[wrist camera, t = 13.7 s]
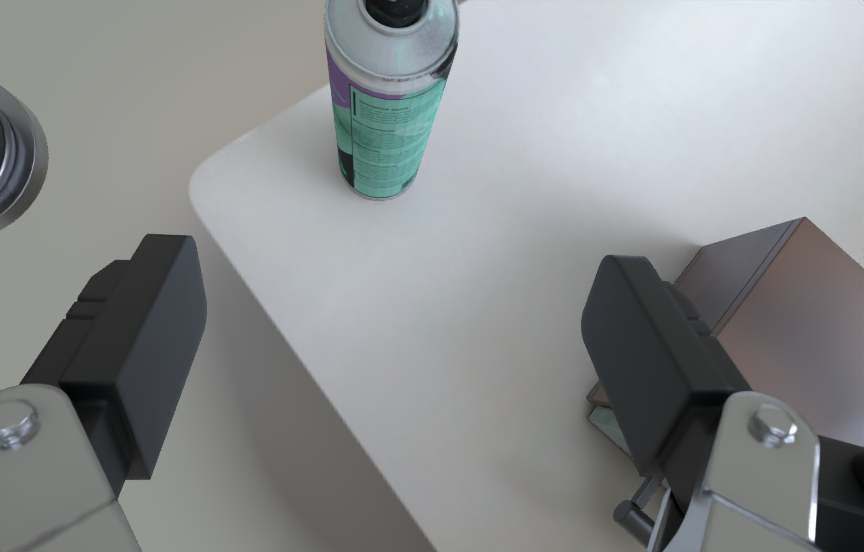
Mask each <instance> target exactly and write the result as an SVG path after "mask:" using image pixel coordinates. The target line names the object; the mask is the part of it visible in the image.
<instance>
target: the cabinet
mask: <svg viewBox="0 0 864 552" xmlns="http://www.w3.org/2000/svg"><path fill="white" fill-rule="evenodd" d="M673 286H674V287H676V288H677V289H678V290H679V291H681V292H682V293H683V294H684V295H686V296H687V297H688V298H689V299H690V300H691V302H692V303H693V304H694V306H695V307H696V309H697V310H698V312H699V313H700V315H701V316H702V321H705V322H706V323H707V325H708V326H709V328H710V329H711V330H712V332H713V337H716V338H717V339H718V341H719V342H720V343H721V345H722V346H723V348H724V349H725V351H726V352H727V353H728V355H729V356H730V358H731V359H732V361H733V362H734V364H735V365H736V366H737V368H738V369H739V371H740V372H741V374H742V375H743V377H744V378H745V379H746V381H747V382H748V384H749V385H750V387H751V388H752V389H753V391H754V392H759V393H763V394H766V395H769V396H772V397H774V398H776V399H778V400H780V401H782V402H784V403H786V404H787V405H789V406H791V407H792V408H793V409H795V410H796V411H797V412H799V413H800V414H801V415H802V416H803V417H804V418H805V419H806V420H807V421H808V422H809V423H810V425H811V426H812V428H813V429H814V430H815V432H816V434H817V435H821V436H825V437H828V438H832V439H836V440H840V441H843V442H847V443H851V444H854V445H858V446H862V447H864V269H863V268H862V267H861V266H860V265H859V264H858V263H857V262H856V261H854V260H853V259H852V258H851V257H850V256H849V255H848V254H847V253H846V252H844V251H843V250H842V249H841V248H840V247H839V246H838V245H837V244H836V243H834V242H833V241H832V240H831V239H830V238H829V237H828V236H827V235H826V234H824V233H823V232H822V231H821V230H820V229H819V228H818V227H817V226H816V225H814V224H813V223H812V222H811V221H810V220H809V219H808V218H807V217H801V218H798V219H795V220H791V221H787V222H784V223H781V224H777V225H774V226H770V227H767V228H764V229H760V230H757V231H753V232H750V233H747V234H743V235H740V236H737V237H733V238H730V239H726V240H723V241H720V242H716V243H713V244H709V245H706V246H703V247H702V249H701V250H700V251H699V252H698V254H697V255H696V256H695V258H694V259H693V260H692V261H691V263H690V264H689V265H688V267H687V268H686V269H685V271H684V272H683V273H682V274H681V276H680V277H679V278H678V280H677V281H676V282H675V283H674V285H673ZM586 398H587V399H588V400H589V401H590V402H592V403H593V404H594V405H595V406H596V407H597V406H598V405H599V406H603V407H607V408H611V405H610V403H609V401H608V398H607V396H606V394H605V391H604V389H603V386H602V384H601V382H600V380H599V382H598V383H597V384H596V386H595V387H594V388H593V389H592V391H591V392H590V393H589V395H588V396H587V397H586ZM611 409H612V408H611Z"/></svg>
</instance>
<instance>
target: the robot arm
mask: <svg viewBox="0 0 864 552" xmlns="http://www.w3.org/2000/svg"><path fill="white" fill-rule="evenodd" d="M14 160H15V139H14V134H13V131H12V128H11V126H10V124H9V122H8V120H7V119H6V117H5V116H4V114H3V113H2V112H1V111H0V189H1V188H2V187H3V185H4V184H5V182H6V181H7V179H8V177H9V175H10V173H11V170H12V168H13V164H14ZM206 316H207V302H206V296H205V290H204V285H203V279H202V274H201V268H200V263H199V259H198V252H197V247H196V243H195V240H194V239H193V237H192V236H186V235H163V234H147V235H146V236H145V237H144V238H143V240H142V241H141V243H140V245H139V247H138V248H137V250H136V251H135V253H134V255H133V256H132V258H131V260H115V261H113V262H112V263H110V264H109V265H107V266H106V267H105V268H103V269H102V270H100V271H99V272H98V273H96V274H95V275H94V276H92V277H91V278H90V280H89V281H88V283H87V284H86V286H85V287H84V289H83V290H82V292H81V293H80V295H79V296H78V301H77V302H74V304H73V305H72V307H71V308H70V309H69V311H68V313H67V314H66V319H63V320H62V321H61V323H60V324H59V326H58V327H57V329H56V330H55V332H54V333H53V335H52V336H51V338H50V339H49V341H48V342H47V344H46V345H45V347H44V348H43V350H42V351H41V353H40V354H39V356H38V357H37V359H36V360H35V362H34V363H33V365H32V366H31V368H30V369H29V371H28V372H27V373H26V375H25V376H24V378H23V379H22V381H21V382H20V384H19V385H18V386H13V387H9V388H6V389H3V390H0V552H142V550H141V548H140V546H139V544H138V542H137V540H136V537H135V535H134V533H133V531H132V529H131V527H130V525H129V523H128V520H127V518H126V516H125V514H124V512H123V510H122V508H121V506H120V504H119V502H118V497H119V494H120V492H121V489H122V487H123V484H124V482H125V480H150V479H151V476H152V473H153V470H154V468H155V465H156V462H157V459H158V456H159V453H160V451H161V448H162V445H163V443H164V440H165V437H166V434H167V432H168V429H169V426H170V423H171V421H172V418H173V415H174V412H175V410H176V406H177V404H178V401H179V399H180V396H181V393H182V390H183V387H184V385H185V382H186V379H187V376H188V374H189V371H190V368H191V365H192V363H193V360H194V357H195V354H196V352H197V349H198V346H199V343H200V341H201V337H202V335H203V332H204V329H205V324H206ZM581 331H582V337H583V341H584V343H585V346H586V348H587V350H588V353H589V355H590V358H591V360H592V362H593V365H594V367H595V370H596V372H597V374H598V377H599V379H600V382H601V384H602V386H603V389H604V391H605V394H606V396H607V398H608V401H609V403H610V405H611V408H612V410H613V413H614V415H615V417H616V420H617V422H618V425H619V427H620V429H621V432H622V434H623V437H624V439H625V441H626V444H627V446H628V448H629V451H630V453H631V456H632V458H633V460H634V463H635V465H636V468H637V470H638V472H639V475H640V477H657V476H665V477H666V480H667V482H668V484H669V486H670V487H669V489H668V490H667V492H666V493H665V495H664V498H663V500H662V503H661V507H660V510H659V513H658V516H657V519H656V522H655V525H654V528H653V531H652V534H651V538H650V541H649V544H648V547H647V550H646V552H864V447H862V446H858V445H854V444H851V443H847V442H843V441H840V440H836V439H832V438H828V437H825V436H821V435H817V434H816V432H815V430H814V429H813V428H812V426H811V425H810V423H809V422H808V421H807V420H806V419H805V418H804V417H803V416H802V415H801V414H800V413H799V412H797V411H796V410H795V409H793V408H792V407H791V406H789V405H787V404H786V403H784V402H782V401H780V400H778V399H776V398H774V397H772V396H769V395H766V394H763V393H759V392H754V391H753V389H752V388H751V387H750V385H749V384H748V382H747V381H746V379H745V378H744V377H743V375H742V374H741V372H740V371H739V369H738V368H737V366H736V365H735V364H734V362H733V361H732V359H731V358H730V356H729V355H728V353H727V352H726V351H725V349H724V348H723V346H722V345H721V343H720V342H719V341H718V339H717V338H716V337H713V332H712V330H711V329H710V328H709V326H708V325H707V323H706V322H705V321H702V316H701V315H700V313H699V312H698V310H697V309H696V307H695V306H694V304H693V303H692V302H691V300H690V299H689V298H688V297H687V296H686V295H684V294H683V293H682V292H681V291H679V290H678V289H677V288H676V287H674V286H673V285H672V284H671V283H669V282H667V281H662V280H661V278H660V277H659V275H658V274H657V272H656V270H655V269H654V267H653V266H652V264H651V263H650V261H649V260H648V259H647V258H646V257H644V256H624V255H606V256H605V257H604V258H603V259H602V261H601V263H600V266H599V268H598V271H597V274H596V277H595V280H594V282H593V285H592V288H591V291H590V293H589V296H588V299H587V302H586V305H585V307H584V310H583V314H582V320H581Z"/></svg>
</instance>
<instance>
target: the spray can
mask: <svg viewBox="0 0 864 552" xmlns="http://www.w3.org/2000/svg"><path fill="white" fill-rule="evenodd" d="M459 28H460V11H459V7H458V3H457V0H326V4H325V15H324V35H325V44H326V53H327V60H328V70H329V78H330V87H331V96H332V104H333V113H334V121H335V130H336V139H337V147H338V156H339V164H340V169H341V173H342V175H343V178H344V180H345V182H346V183H347V184H348V186H349V187H350V188H351V189H352V190H353V191H354V192H355V193H357V194H359V195H360V196H362V197H364V198H367V199H371V200H376V201H384V200H389V199H393V198H395V197H397V196H399V195H401V194H402V193H404V192H405V191H406V190H407V189H408V188H409V187H410V185H411V184H412V182H413V180H414V179H415V176H416V174H417V171H418V168H419V165H420V161H421V158H422V155H423V152H424V149H425V146H426V143H427V140H428V137H429V134H430V131H431V127H432V124H433V121H434V118H435V115H436V112H437V109H438V106H439V103H440V100H441V97H442V93H443V90H444V87H445V84H446V81H447V78H448V75H449V72H450V69H451V66H452V63H453V59H454V56H455V53H456V50H457V47H458V41H459Z"/></svg>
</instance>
